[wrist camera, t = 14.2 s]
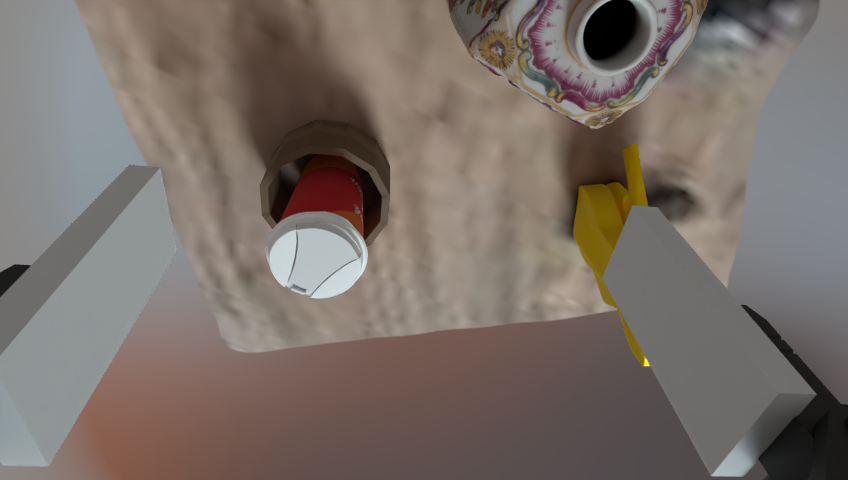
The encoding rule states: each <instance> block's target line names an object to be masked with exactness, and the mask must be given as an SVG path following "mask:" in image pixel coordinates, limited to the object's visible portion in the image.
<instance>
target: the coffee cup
mask: <svg viewBox="0 0 848 480" xmlns="http://www.w3.org/2000/svg"><path fill="white" fill-rule="evenodd" d="M266 256H267V260H268V262H269V265H270V269H271V271H272V273H273V275H274V277H275V278H276V279H277V281H278V282H279V283H280V284H281V285H282V286H284V287H285V285H286V286H287V287H290V288H291V289H290V290H292V291H295V292H297V293H300V294H302V295H305V294H307V295H310V297H311V298H328V297H332V296H336V295H338V294H341V293H343V292H344V291H346V290H347V289H349V288H350V287H351V286H352V285H353V284H354V283H355V282H356V280H357V279H358V278H359V277H360V276H361V274H362V273H363V271H364V269H365V267H366V264H367V258H368V254H367V247H366V244H365V241H364V239H363V193H362V177H361V172H360V170H359V167H358V166H357V165H356V164H354V163H353V162H351V161H349V160H348V159H346V158H344V157H343V156H336V155H324V154H318V155H316V156H314V157H313V158H312V159H311V160H310V161H309V162H308V164H307V165H306V167H305V169H304V171H303V173H302V175H301V177H300V179H299V181H298V183H297V185H296V187H295V189H294V192H293V194H292V196H291V198H290V200H289V203H288V205H287V207H286V209H285V211H284V213H283V216H282V218H281V220H280V222H279V223H278V224H277V225H276V226H275V227H274V228H273V229H272V231H271V232H270V234H269V236H268V239H267V243H266Z"/></svg>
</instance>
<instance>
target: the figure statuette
mask: <svg viewBox="0 0 848 480" xmlns="http://www.w3.org/2000/svg"><path fill="white" fill-rule="evenodd" d="M622 153H623V158H624V163H625V168H626V174H627V181H628V188H629V193H628V191H627V190H626V189H625V188H624V187H623V186H622V185H621V184H620V183H618V182H613V183H610V184H607V185H604V184H595V185H583V186H579V192H578V201H577V208H576V215H575V221H574V238H575V241H576V243H577V244H578V246H579V249H580V252H581V254H582V256H583V258H584V260H585V262H586V263H587V264H588V265H589V266H590V268H591V269H592V270H593V272H594V275H595V278H596V281H597V284H598V287H599V290H600V293H601V296H602V298H603V300H604V302H605V303H606V304H608V305H611V306H614V307H615V308H617V310H618V313H619V315H620V317H621V319H622V323H623V327H624V331H625V334H626V338H627V341H628V344H629V346H630V348H631V350H632V352H633V354H634V355H635V356H636V358H637V359H638V360H639V362H640V363H641V365H642V366H650V365H649V363H648V361H647V359H646V357H645V356H644V354H643V352H642V350H641V348H640V346H639V345H638V343H637V341H636V339H635V337H634V336H633V334H632V332H631V330H630V328H629V327H628V325H627V323H626V321H625V319H624V317H623V316H622V314H621V312H620V310H619V308H618V307H617V305H616V303H615V301H614V299H613V298H612V296H611V294H610V292H609V290H608V288H607V287H606V285H605V283H604V281H603V279H602V277H603V275H604V273H605V270H606V268H607V265H608V263H609V261H610V258H611V256H612V253H613V251H614V249H615V246H616V244H617V241H618V239H619V237H620V234H621V232H622V230H623V227H624V225H625V222H626V220H627V218H628V215H629V213H630V210H631V208H632V206H645V207H648V204H647V199H646V194H645V188H644V182H643V178H642V173H641V166H640V159H639V151H638V144H631V145H629V146H628V147H626V148H625V149H624V150H623V151H622Z"/></svg>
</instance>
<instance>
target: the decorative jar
mask: <svg viewBox="0 0 848 480" xmlns="http://www.w3.org/2000/svg"><path fill="white" fill-rule="evenodd" d="M707 2H708V0H457V2H456V4H455V6H454V7H453V9H452V11H451V14H450V17H451V19H452V22H453V24H454V26H455V29H456V31H457V33H458V35H459V36H460V38H461V39H462V41H463V43H464V45H465V47H466V48H467V50H468V52H469V54H470V56H471V57H473V58H474V59H476V60H478V62H480V63H481V64H482V65H483V66H485V67H486V68H488V69H489V70H490V71H491V72H492V73H494V74H495V75H498V76H504V77H506V78H507V79H508V81H509V83H511V84H512V85H513V86H515V87H517V88H520V89H522V90H523V91H525V92H527V93H528V95H529V96H531V97H532V98H533V99H535V100H536V101H538V102H540V103H542V104H544V105H546V106H547V107H548V108H550V109H551V110H553V111H556V112H560V113H563V114H565V115H566V117H568V118H570V119H571V120H574V121H575V122H577V123H579V124H583V125H585V126H587V127H588V128H589V129H597V128H600V127H602V126H604V125H605V124H610V123H612V122H613V121H614V120H615V119H616V118H618V117H620V116H621V115H622V114H623V113H624V112H626V111H627V110H629V109H631V108H632V107H634V106H636V105H638V104H640V103H641V102H643V101H644V100H645V99H646V98H647V97H648V96H649V95H650V94H651V92H652V91H653V90H654V89H655V88H656V86H657V85H658V84H659V83H660V82H661V81H662V80H663V78H664V77H665V76H666V75H667V74H668V72H669V71H670V70H672V69H673V68H674V66H675V65H676V64H677V62H678V61H679V59H680V57H681V56H682V55H683V53H684V51H685V50H686V49H687V47H688V46H689V45H690V43H691V42H692V41H693V38H694V35H695V33H696V30H697V27H698V24H699V21H700V18H701V16H702V13H703V12H704V10H705V8H706V5H707Z"/></svg>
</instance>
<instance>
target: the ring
mask: <svg viewBox="0 0 848 480" xmlns="http://www.w3.org/2000/svg"><path fill="white" fill-rule="evenodd" d="M309 153H312V154H324V155H336V156H343V157H344V158H346V159H348V160H349V161H351V162H353V163H354V164H356V165H358V166H359V167H361V168H362V169H364V170H366V171H367V172H369V174H370V176H371V177H372V179H373V181H374V183H375V185H376V186H377V188H378V190H379V192H380V194H379V195H378V196H377V198H376V199H375V200H374V202H373V203H372V204H371V205H370V207H369V208H368V209H367V210H366V211H363V239H364V241H365V244H366V247H368V246H370V245H371V243H372V242H373V241H374V240H375V238H376V237H377V236H378V235H379V233H380V232H381V231H382V230H383V229H384V227H385V226H386V225H387V222H388V211H389V200H390V166H389V164H388V162H387V160H386V158H385V156H384V155H383V153H382V151H381V149H380V147H379V145H378V143H377V141H376V140H374V139H373V138H371V137H370V136H368V135H367V134H365V133H363V132H362V131H360V130H359V129H357V128H356V127H354V126H353V125H351V124H349V123H341V122H330V121H319V120H315V121H313V122H311V123H309V124H307V125H304V126H302V127H300V128H298V129H296V130H294V131H291V132H289V133H287V135H286V137H285V138H284V140H283V142H282V143H281V145H280V146H279V148H278V150H277V151H276V153H275V154H274V156H273V158H272V160H271V162H270V164H269V167H268V169H267V171H266V173H265V175H264V178H263V180H262V182H261V184H260V195H261V207H262V216H263V217H264V218H265V220H266V221H267V222H268V224H269V225H270V226H271V228H272V229H273V228H274V227H275V226H276V225H277V224H278V223H279V222H280V220H281V218H282V216H283V213H284V211H285V209H286V207H287V205H288V203H289V200H290V196H289V195H288V193H287V192H286V190H285V189H284V187H283V186H282V185H281V172H280V168H281V167H282V165H285V164H287V163H289V162H291V161H294V160H296V159H298V158H300V157H303V156H305V155H307V154H309Z"/></svg>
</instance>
